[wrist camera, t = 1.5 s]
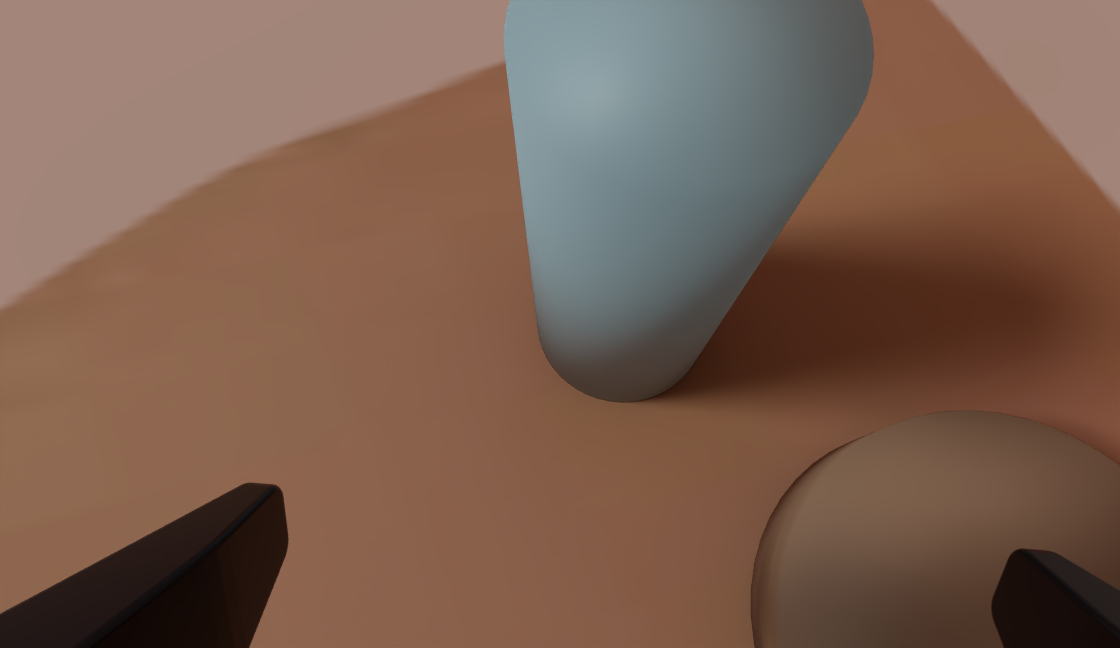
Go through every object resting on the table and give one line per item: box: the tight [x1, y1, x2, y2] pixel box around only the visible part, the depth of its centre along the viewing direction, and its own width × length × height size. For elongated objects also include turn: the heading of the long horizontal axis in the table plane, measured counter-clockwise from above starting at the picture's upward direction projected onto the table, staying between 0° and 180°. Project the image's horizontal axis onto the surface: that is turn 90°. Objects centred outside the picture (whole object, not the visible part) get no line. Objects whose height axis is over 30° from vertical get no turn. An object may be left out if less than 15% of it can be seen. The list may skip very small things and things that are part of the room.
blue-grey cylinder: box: [504, 0, 874, 402], centre depth 16 cm, size 6×6×13 cm
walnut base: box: [751, 410, 1120, 648], centre depth 18 cm, size 11×11×3 cm
